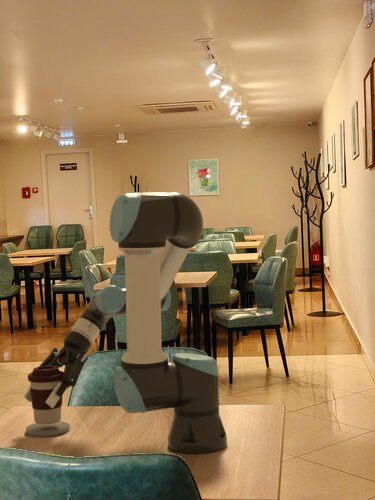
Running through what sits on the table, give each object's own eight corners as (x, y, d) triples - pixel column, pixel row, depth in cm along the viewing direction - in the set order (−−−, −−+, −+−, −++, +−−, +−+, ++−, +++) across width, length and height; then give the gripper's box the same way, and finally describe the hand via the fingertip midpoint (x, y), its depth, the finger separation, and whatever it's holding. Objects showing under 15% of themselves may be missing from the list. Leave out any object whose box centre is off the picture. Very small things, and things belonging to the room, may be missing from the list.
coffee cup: (69, 416, 209) (67, 364, 208) (60, 426, 199) (58, 371, 198) (35, 416, 210) (33, 364, 209) (24, 426, 200) (22, 371, 199)
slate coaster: (75, 433, 202) (75, 428, 201) (32, 440, 196) (32, 435, 196) (62, 422, 212) (62, 418, 212) (21, 429, 207) (21, 424, 207)
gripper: (113, 349, 207) (70, 416, 196) (65, 341, 222) (23, 403, 212) (98, 333, 203) (53, 400, 192) (50, 326, 218) (6, 388, 207)
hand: (37, 402), depth 202 cm, fingers closed on coffee cup, 10 cm apart
